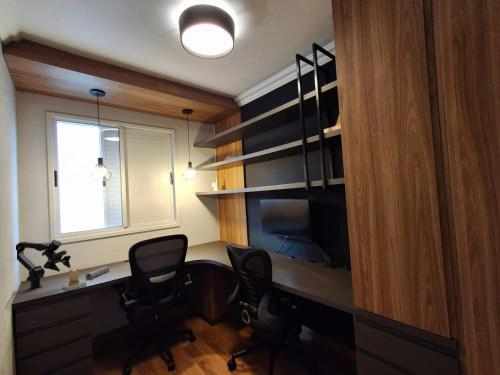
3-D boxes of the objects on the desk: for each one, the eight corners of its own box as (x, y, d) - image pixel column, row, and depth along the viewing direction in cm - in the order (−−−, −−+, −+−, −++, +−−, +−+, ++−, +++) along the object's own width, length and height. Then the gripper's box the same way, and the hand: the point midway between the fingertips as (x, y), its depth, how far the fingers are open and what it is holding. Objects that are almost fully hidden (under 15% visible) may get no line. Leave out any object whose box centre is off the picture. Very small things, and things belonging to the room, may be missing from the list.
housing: (61, 287, 180) (61, 284, 180) (80, 282, 190) (80, 279, 190) (67, 290, 173) (67, 287, 173) (86, 285, 182) (86, 282, 183)
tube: (104, 266, 223) (84, 274, 198) (109, 264, 223) (90, 272, 198) (106, 272, 223) (86, 280, 198) (111, 270, 223) (92, 278, 198)
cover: (67, 286, 181) (66, 270, 181) (77, 283, 186) (77, 268, 187) (70, 288, 177) (69, 271, 177) (80, 285, 182) (80, 269, 183)
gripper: (46, 250, 175) (60, 264, 173) (68, 245, 194) (81, 258, 192) (37, 261, 175) (50, 276, 174) (60, 255, 194) (72, 268, 192)
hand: (64, 269), depth 183 cm, fingers open, 9 cm apart
